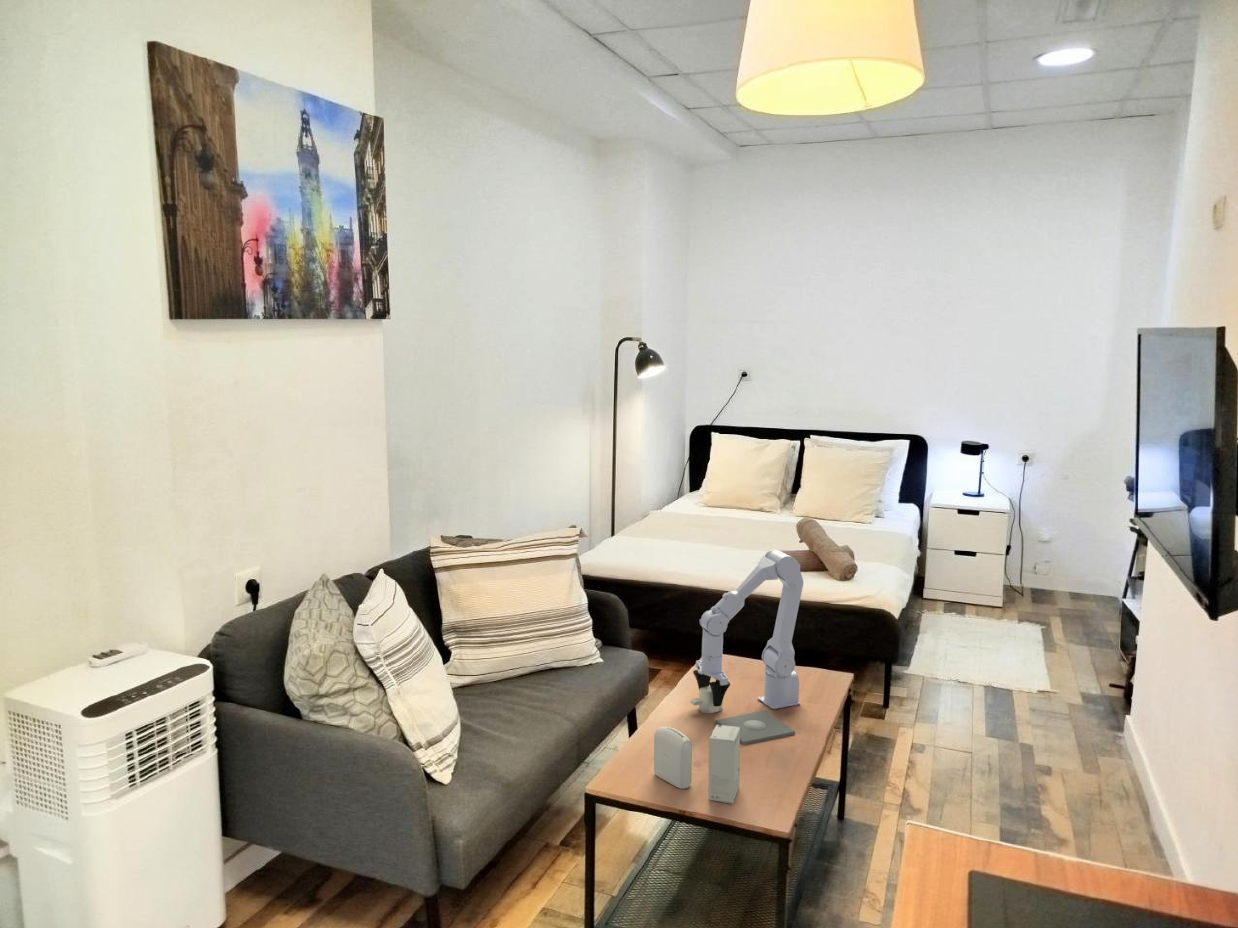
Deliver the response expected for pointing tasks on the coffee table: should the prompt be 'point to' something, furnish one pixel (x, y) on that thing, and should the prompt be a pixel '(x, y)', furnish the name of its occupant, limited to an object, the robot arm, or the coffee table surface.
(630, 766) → the coffee table surface
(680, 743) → the photo printer
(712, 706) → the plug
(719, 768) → the skincare box
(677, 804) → the coffee table surface
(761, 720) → the mat
